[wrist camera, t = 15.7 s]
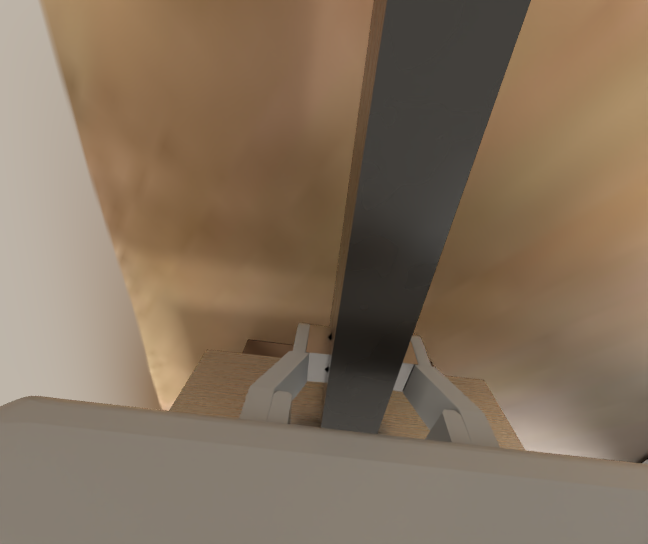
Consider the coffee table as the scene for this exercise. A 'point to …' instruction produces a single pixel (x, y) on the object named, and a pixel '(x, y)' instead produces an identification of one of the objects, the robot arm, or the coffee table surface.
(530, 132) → the coffee table surface
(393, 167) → the scraper
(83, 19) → the coffee table surface
